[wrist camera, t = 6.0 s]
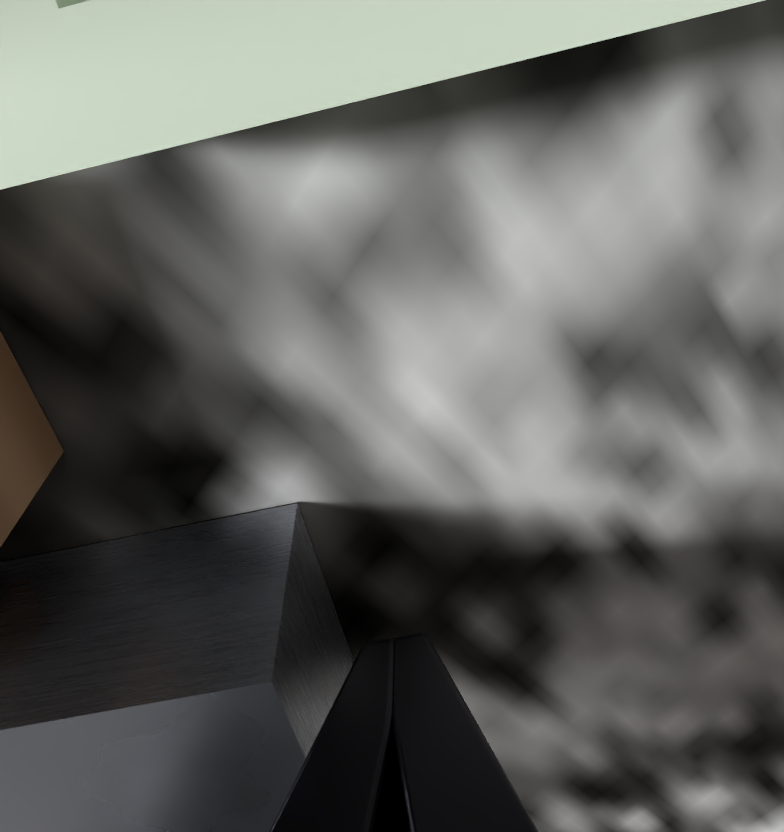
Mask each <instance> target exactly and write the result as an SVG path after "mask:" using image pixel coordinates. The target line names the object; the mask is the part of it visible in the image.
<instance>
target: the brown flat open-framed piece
mask: <svg viewBox="0 0 784 832" xmlns="http://www.w3.org/2000/svg"><path fill="white" fill-rule="evenodd" d="M63 452H64V450H63V448H62V447H61V445H60V443H59V441H58V439H57V437H56V435H55V433H54V431H53V430H52V428H51V426H50V424H49V422H48V420H47V418H46V416H45V414H44V413H43V411H42V409H41V407H40V405H39V403H38V401H37V399H36V397H35V395H34V394H33V392H32V390H31V388H30V386H29V384H28V382H27V380H26V378H25V377H24V375H23V373H22V371H21V369H20V367H19V365H18V363H17V361H16V360H15V358H14V356H13V354H12V352H11V350H10V348H9V346H8V344H7V343H6V341H5V339H4V337H3V335H2V333H1V331H0V547H1V546H2V544H3V543H4V541H5V540H6V538H7V537H8V535H9V534H10V532H11V531H12V529H13V528H14V526H15V525H16V523H17V522H18V520H19V519H20V517H21V516H22V514H23V512H24V511H25V509H26V508H27V506H28V505H29V503H30V502H31V500H32V499H33V497H34V496H35V494H36V493H37V491H38V490H39V488H40V487H41V485H42V484H43V482H44V481H45V479H46V478H47V476H48V475H49V473H50V472H51V470H52V469H53V467H54V466H55V464H56V463H57V461H58V460H59V458H60V457H61V455H62V454H63Z"/></svg>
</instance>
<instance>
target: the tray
mask: <svg viewBox="0 0 784 832" xmlns="http://www.w3.org/2000/svg"><path fill="white" fill-rule="evenodd" d="M760 1H764V0H0V190H1V189H5V188H9V187H13V186H17V185H21V184H25V183H29V182H33V181H37V180H41V179H45V178H49V177H54V176H58V175H62V174H66V173H70V172H74V171H78V170H82V169H86V168H90V167H94V166H98V165H102V164H106V163H110V162H114V161H118V160H122V159H126V158H130V157H134V156H138V155H142V154H146V153H150V152H154V151H159V150H163V149H167V148H171V147H175V146H179V145H183V144H187V143H191V142H195V141H199V140H203V139H207V138H211V137H215V136H219V135H223V134H227V133H231V132H235V131H239V130H243V129H247V128H251V127H255V126H259V125H264V124H268V123H272V122H276V121H280V120H284V119H288V118H292V117H296V116H300V115H304V114H308V113H312V112H316V111H320V110H324V109H328V108H332V107H336V106H340V105H344V104H348V103H352V102H356V101H360V100H364V99H368V98H373V97H377V96H381V95H385V94H389V93H393V92H397V91H401V90H405V89H409V88H413V87H417V86H421V85H425V84H429V83H433V82H437V81H441V80H445V79H449V78H453V77H457V76H461V75H465V74H469V73H473V72H478V71H482V70H486V69H490V68H494V67H498V66H502V65H506V64H510V63H514V62H518V61H522V60H526V59H530V58H534V57H538V56H542V55H546V54H550V53H554V52H558V51H562V50H566V49H570V48H574V47H578V46H583V45H587V44H591V43H595V42H599V41H603V40H607V39H611V38H615V37H619V36H623V35H627V34H631V33H635V32H639V31H643V30H647V29H651V28H655V27H659V26H663V25H667V24H671V23H675V22H679V21H683V20H688V19H692V18H696V17H700V16H704V15H708V14H712V13H716V12H720V11H724V10H728V9H732V8H736V7H740V6H744V5H748V4H752V3H756V2H760Z"/></svg>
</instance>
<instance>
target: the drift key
mask: <svg viewBox="0 0 784 832" xmlns="http://www.w3.org/2000/svg"><path fill="white" fill-rule="evenodd" d="M351 667H352V654H351V652H350V649H349V646H348V643H347V640H346V638H345V635H344V632H343V629H342V627H341V624H340V621H339V618H338V615H337V613H336V610H335V607H334V604H333V601H332V599H331V596H330V593H329V590H328V587H327V585H326V582H325V579H324V576H323V574H322V571H321V568H320V565H319V562H318V560H317V557H316V554H315V551H314V548H313V546H312V543H311V540H310V537H309V534H308V532H307V529H306V526H305V523H304V521H303V518H302V515H301V512H300V509H299V507H298V504H297V503H296V504H291V505H286V506H281V507H276V508H271V509H266V510H261V511H256V512H251V513H246V514H241V515H236V516H231V517H226V518H221V519H216V520H211V521H206V522H201V523H196V524H191V525H186V526H181V527H176V528H171V529H166V530H161V531H156V532H151V533H146V534H141V535H136V536H131V537H126V538H121V539H116V540H111V541H106V542H101V543H96V544H91V545H86V546H81V547H76V548H71V549H66V550H61V551H56V552H51V553H46V554H41V555H36V556H31V557H26V558H21V559H16V560H11V561H6V562H1V563H0V832H269V830H270V828H271V826H272V824H273V822H274V820H275V818H276V816H277V814H278V812H279V810H280V808H281V806H282V804H283V802H284V800H285V798H286V796H287V794H288V792H289V790H290V788H291V786H292V784H293V782H294V780H295V778H296V776H297V775H298V773H299V771H300V769H301V767H302V765H303V763H304V761H305V759H306V757H307V755H308V753H309V751H310V749H311V747H312V745H313V743H314V741H315V739H316V737H317V735H318V733H319V731H320V729H321V727H322V725H323V723H324V721H325V719H326V717H327V715H328V713H329V711H330V709H331V707H332V705H333V703H334V701H335V699H336V697H337V695H338V693H339V691H340V689H341V687H342V685H343V683H344V681H345V679H346V677H347V675H348V673H349V671H350V669H351Z"/></svg>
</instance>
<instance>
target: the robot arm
mask: <svg viewBox="0 0 784 832" xmlns="http://www.w3.org/2000/svg"><path fill="white" fill-rule="evenodd" d="M269 832H538V830H537V829H536V827H535V825H534V823H533V822H532V820H531V818H530V816H529V814H528V813H527V811H526V809H525V807H524V806H523V804H522V802H521V800H520V798H519V797H518V795H517V793H516V791H515V790H514V788H513V786H512V784H511V782H510V781H509V779H508V777H507V775H506V774H505V772H504V770H503V768H502V767H501V765H500V763H499V761H498V759H497V758H496V756H495V754H494V752H493V751H492V749H491V747H490V745H489V743H488V742H487V740H486V738H485V736H484V735H483V733H482V731H481V729H480V727H479V726H478V724H477V722H476V720H475V719H474V717H473V715H472V713H471V712H470V710H469V708H468V706H467V704H466V703H465V701H464V699H463V697H462V696H461V694H460V692H459V690H458V688H457V687H456V685H455V683H454V681H453V680H452V678H451V676H450V674H449V672H448V671H447V669H446V667H445V665H444V664H443V662H442V660H441V658H440V656H439V655H438V653H437V651H436V649H435V648H434V646H433V644H432V642H431V641H430V639H429V637H428V635H427V634H426V633H425V632H417V633H411V634H406V635H400V636H397V637H396V638H392V637H389V638H383V639H378V640H373V641H368V642H366V643H365V644H363V646H362V647H361V649H360V651H359V653H358V655H357V657H356V659H355V661H354V663H353V665H352V667H351V669H350V671H349V673H348V675H347V677H346V679H345V681H344V683H343V685H342V687H341V689H340V691H339V693H338V695H337V697H336V699H335V701H334V703H333V705H332V707H331V709H330V711H329V713H328V715H327V717H326V719H325V721H324V723H323V725H322V727H321V729H320V731H319V733H318V735H317V737H316V739H315V741H314V743H313V745H312V747H311V749H310V751H309V753H308V755H307V757H306V759H305V761H304V763H303V765H302V767H301V769H300V771H299V773H298V775H297V776H296V778H295V780H294V782H293V784H292V786H291V788H290V790H289V792H288V794H287V796H286V798H285V800H284V802H283V804H282V806H281V808H280V810H279V812H278V814H277V816H276V818H275V820H274V822H273V824H272V826H271V828H270V830H269Z"/></svg>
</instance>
